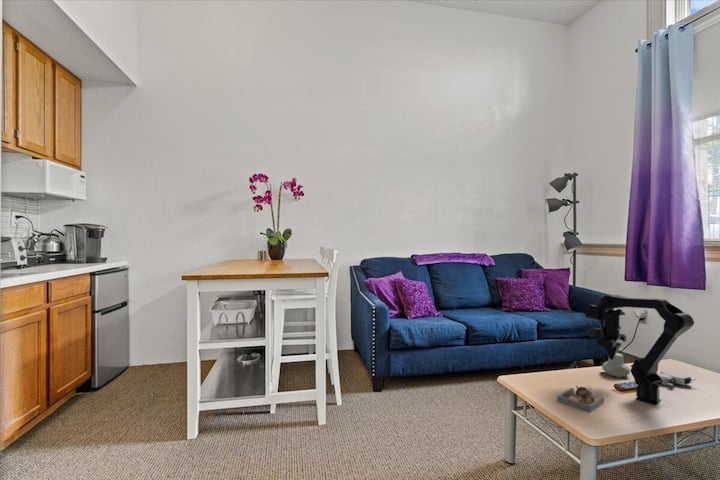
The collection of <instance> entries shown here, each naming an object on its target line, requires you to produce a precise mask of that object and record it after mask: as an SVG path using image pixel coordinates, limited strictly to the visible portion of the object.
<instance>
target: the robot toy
mask: <svg viewBox="0 0 720 480" xmlns="http://www.w3.org/2000/svg"><path fill="white" fill-rule="evenodd" d="M657 374H658V375H659V377H660V378H661V379H662V380H663V383H662V385H663V386H670V387H673V386H674V385H675V384H677V385H679V386H686V385H690V384H692V382H694V381H696V380H697V377H695V378H694V379H692V377H691V376H690V375H688V374H687V373H683V372H681V371H677V370H673V369H668V368H666V369H665V370H661V371H660V373H657Z"/></svg>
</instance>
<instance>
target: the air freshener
mask: <svg viewBox="0 0 720 480" xmlns="http://www.w3.org/2000/svg"><path fill="white" fill-rule="evenodd" d="M624 359H625V358H624V355H623V354H622V353H619V352H617V353H616V355H615V357H614V359H613V360H611V359H610V358H609V355H608V360H607V361H605V362H603V364H602V365H601V368H602V370H603V371H604V373H606V374H607V375H610V376H612V377H615V378H623V377H627V376H629V375H630V374H631V368H630V367H629V366H628V365H627V364H625V363H624V361H625V360H624Z"/></svg>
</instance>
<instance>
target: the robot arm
mask: <svg viewBox="0 0 720 480" xmlns="http://www.w3.org/2000/svg"><path fill="white" fill-rule="evenodd" d="M621 308H637V309H639V308H640V309H652V310H653V309H654V310H655V311H656V312H657V313H658V315H659V316H660V318H661V319H662V320H663V321H664V324H663V331H662V333H661V334H660V335H659V337H658V338H657V340H656V341H655V342H654V343H653V346H652V347H650V350H649V351H648V352H647V354H645V357H640V358H636V359H634V361H633V364H631V365H630V374H631V375H632V377H633V379H634V383H635V385H636V387H635V389H636V392H635V395H636V400H638V401H642V402H646V403H648V404H652V405H657V404H659V403H660V402H661V398H660V386H662V385H663V384H662V383H663V380H662V379H661V378H660V377H659V375H658V374H659V373H657V372H658V371H659V363H660V362H661V361H662V359H663V357H665V356H666V354H667V352H668V351H669V350H670V348H671V347H672V346H673V344H674V343H675V342H676V341H677V339H678V338H679V337H680V336H681V335H683V334H684V333H686V332H687V331H688V330H690V329H691V328H692V327H693V326H694V324H695V321H694V319H693V317H692V316H691V315H690V314H688V313H687V312H684V310H682V309H680V308H679V307H677V306H675V305H674V304H672V303H671V302H669V301H668V300H667V299H664V298H633V297H626V296H623V295H618V294H609V295H608V294H607V295H603V296H602V298H601V300H600V302H599V303H598V304H597V305H595V304H588V305H587V308H586V309H585V312H584V316H585V318H586V319H587V320H592V321H596V322H603V325H601V327H597V328H595V327H591V328H589V330H588V331H587V334H588V335H589V336H590V338H596V337H599V338H597V339H596V340H595V345H596V346H601V347H605V350H606V353H607V354H608V356H609V358H610V359H611V360H613V359H614V357H615V355H616V353H618V351H619V350H620V348H621V347H622V345H623V343H625V342H627V336H626V335H625V334H624V333H620V331H621V329H622V326H621V325H620V316H625V315H626V312H624V311H623V310H622V309H621ZM618 340H620V341H622V342H623V343H622V342H621V343H620V342H619V341H618Z"/></svg>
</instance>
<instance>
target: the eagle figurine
mask: <svg viewBox="0 0 720 480" xmlns="http://www.w3.org/2000/svg"><path fill="white" fill-rule="evenodd" d="M575 387H576V391H575V392H574V394H575V397H578V399H579V402H581V401H582V400H583V401H582V403H585V404H588V405H590V404H591V403H593V402H594V401H595V399H594V398H593V397H595V395H596V393H595V392H596V391H595V389H594V388H593V387H588V388H587V387H586V386H585V387H584V386H579V387H578V385H575Z"/></svg>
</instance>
